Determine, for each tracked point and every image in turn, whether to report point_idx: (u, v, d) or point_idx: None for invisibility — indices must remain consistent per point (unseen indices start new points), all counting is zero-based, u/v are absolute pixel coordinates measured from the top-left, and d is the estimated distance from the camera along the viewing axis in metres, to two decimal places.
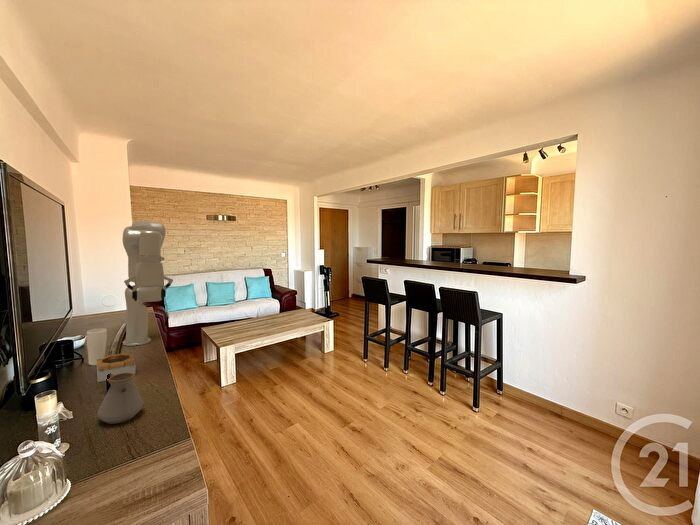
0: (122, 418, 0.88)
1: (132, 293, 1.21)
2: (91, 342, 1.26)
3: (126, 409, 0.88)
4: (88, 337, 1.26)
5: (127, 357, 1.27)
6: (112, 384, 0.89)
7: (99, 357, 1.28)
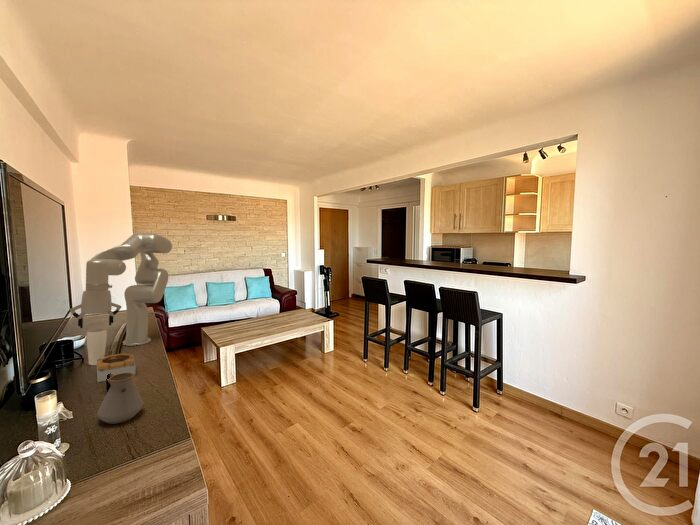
0: (122, 418, 0.88)
1: (78, 321, 1.25)
2: (91, 342, 1.26)
3: (126, 409, 0.88)
4: (88, 337, 1.26)
5: (127, 357, 1.27)
6: (112, 384, 0.89)
7: (99, 357, 1.28)
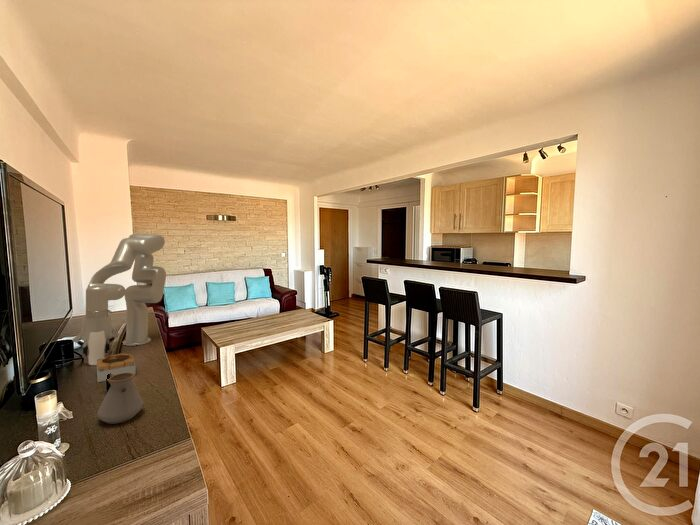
0: (122, 418, 0.88)
1: (83, 349, 1.27)
2: (91, 341, 1.26)
3: (126, 409, 0.88)
4: None
5: (127, 357, 1.27)
6: (112, 384, 0.89)
7: (99, 357, 1.28)
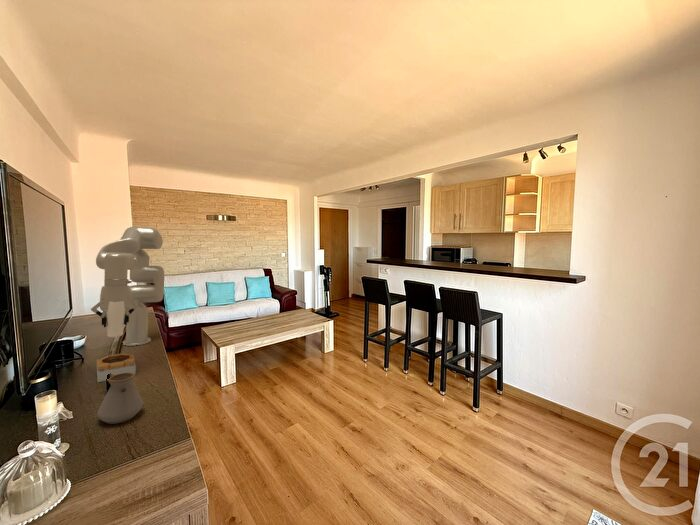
0: (122, 418, 0.88)
1: None
2: (111, 311, 1.19)
3: (126, 409, 0.88)
4: None
5: (127, 357, 1.27)
6: (112, 384, 0.89)
7: (118, 329, 1.21)
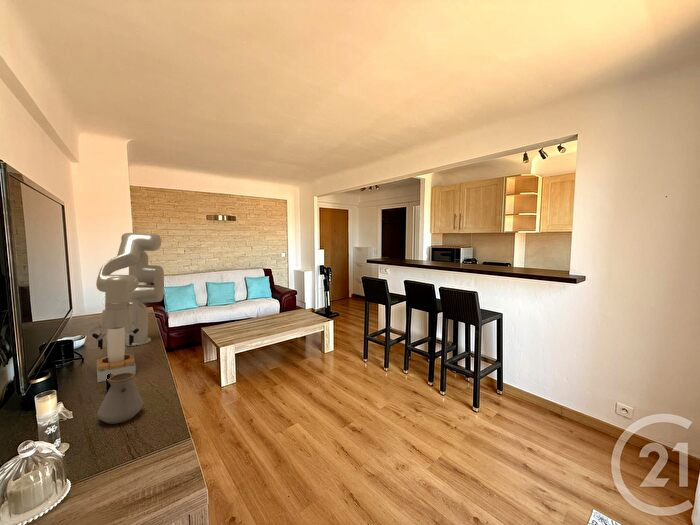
0: (122, 418, 0.88)
1: (98, 341, 1.19)
2: (110, 339, 1.19)
3: (126, 409, 0.88)
4: (107, 334, 1.19)
5: (127, 357, 1.27)
6: (112, 384, 0.89)
7: (119, 355, 1.21)
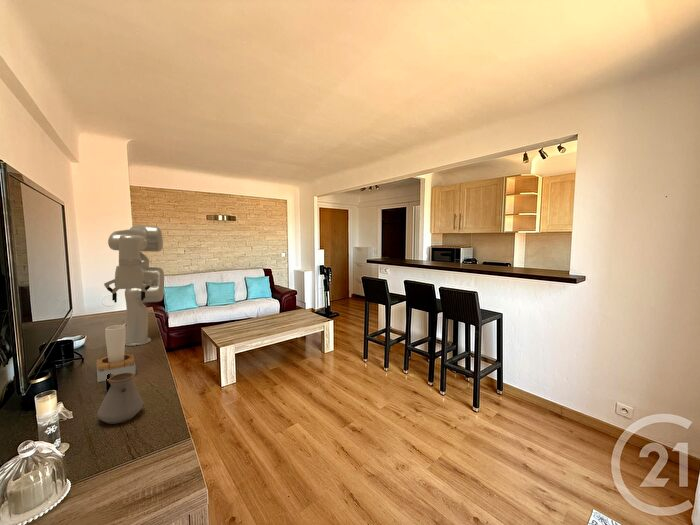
0: (122, 418, 0.88)
1: (112, 295, 1.27)
2: (110, 339, 1.19)
3: (126, 409, 0.88)
4: (106, 334, 1.19)
5: (127, 357, 1.27)
6: (112, 384, 0.89)
7: (118, 355, 1.21)
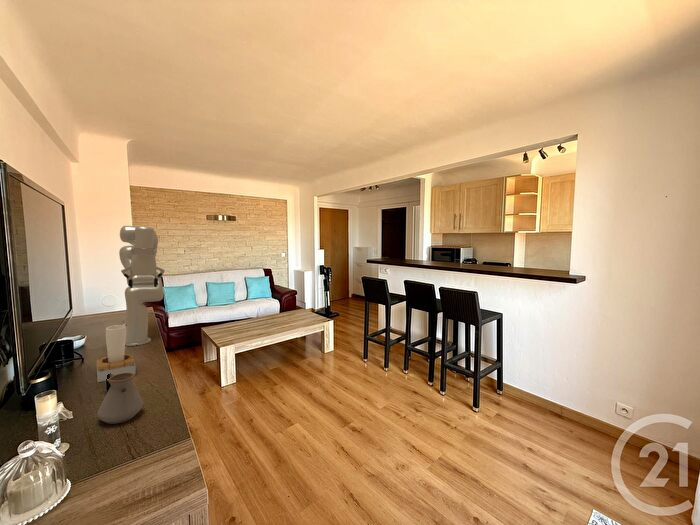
0: (122, 418, 0.88)
1: (128, 281, 1.38)
2: (110, 339, 1.19)
3: (126, 409, 0.88)
4: (107, 334, 1.19)
5: (127, 357, 1.27)
6: (112, 384, 0.89)
7: (118, 355, 1.21)
